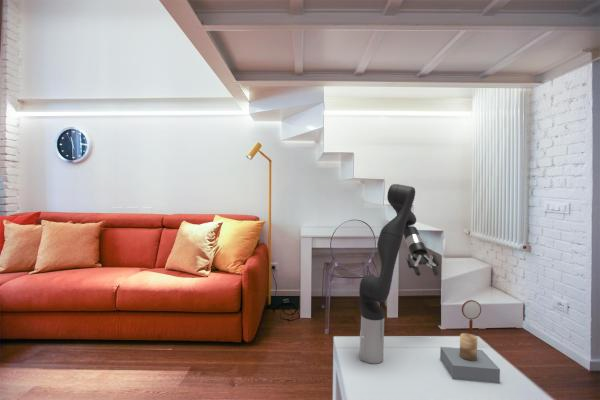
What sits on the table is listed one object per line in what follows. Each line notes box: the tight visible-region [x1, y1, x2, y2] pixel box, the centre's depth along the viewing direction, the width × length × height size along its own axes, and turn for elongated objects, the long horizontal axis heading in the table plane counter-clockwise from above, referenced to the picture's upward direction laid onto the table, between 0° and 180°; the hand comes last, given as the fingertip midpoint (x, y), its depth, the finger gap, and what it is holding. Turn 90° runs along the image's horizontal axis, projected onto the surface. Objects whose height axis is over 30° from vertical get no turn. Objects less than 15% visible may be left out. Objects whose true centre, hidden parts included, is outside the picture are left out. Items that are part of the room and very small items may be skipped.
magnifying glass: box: [461, 299, 482, 335], centre depth 141 cm, size 9×2×20 cm, turn 91°
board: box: [439, 346, 501, 384], centre depth 120 cm, size 16×14×5 cm
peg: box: [459, 332, 478, 361], centre depth 120 cm, size 6×6×13 cm
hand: (428, 275), depth 142 cm, fingers open, 8 cm apart
